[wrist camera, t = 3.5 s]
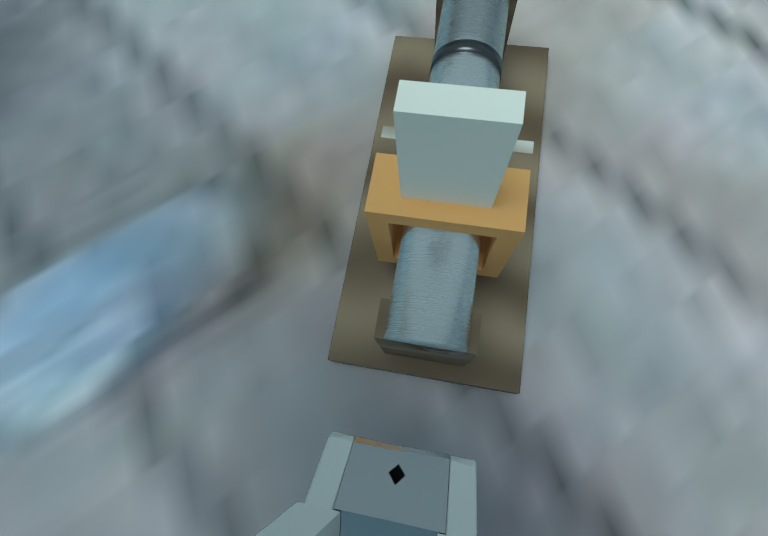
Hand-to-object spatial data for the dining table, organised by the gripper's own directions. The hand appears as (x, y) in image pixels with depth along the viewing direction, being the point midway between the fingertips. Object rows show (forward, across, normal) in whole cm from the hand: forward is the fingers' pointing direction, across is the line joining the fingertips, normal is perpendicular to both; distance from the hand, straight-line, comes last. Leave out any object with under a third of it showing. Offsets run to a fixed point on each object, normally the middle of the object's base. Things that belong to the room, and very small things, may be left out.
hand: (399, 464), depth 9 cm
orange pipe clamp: (+18, 0, +3) cm, 18 cm away
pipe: (+21, 0, -2) cm, 21 cm away
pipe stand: (+25, 0, +2) cm, 25 cm away
